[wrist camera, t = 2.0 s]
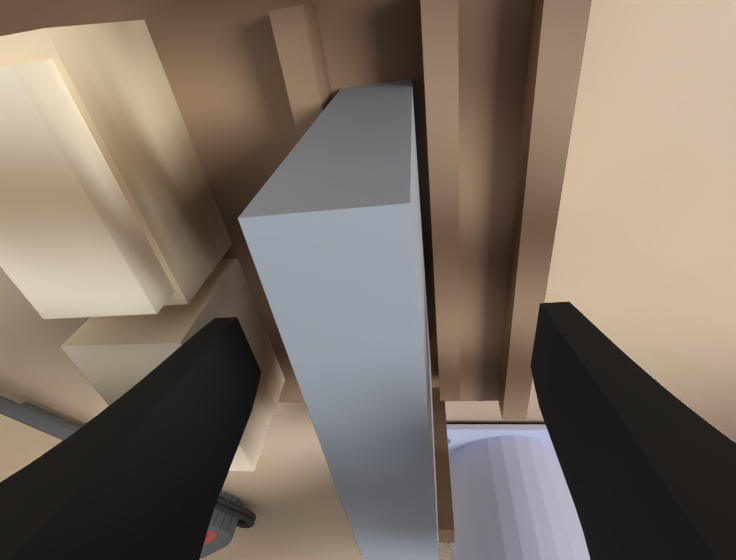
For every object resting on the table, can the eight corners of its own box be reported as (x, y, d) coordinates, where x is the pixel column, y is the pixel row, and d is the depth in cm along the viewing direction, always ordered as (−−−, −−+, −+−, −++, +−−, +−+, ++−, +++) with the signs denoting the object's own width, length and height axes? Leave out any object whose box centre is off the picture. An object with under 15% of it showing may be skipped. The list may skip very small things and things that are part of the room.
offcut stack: (285, 379, 19) (254, 471, 15) (208, 381, 19) (162, 469, 16) (144, 19, 10) (0, 32, 7) (18, 42, 11) (-175, 64, 7)
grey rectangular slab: (429, 341, 16) (439, 563, 10) (382, 342, 17) (362, 559, 10) (412, 78, 11) (409, 203, 4) (341, 88, 11) (238, 218, 5)
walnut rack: (516, 383, 19) (560, 547, 13) (211, 387, 21) (138, 527, 16) (582, -156, 9) (910, -455, 3) (-22, -25, 11) (-476, -49, 5)
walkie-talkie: (277, 493, 29) (-12, 359, 23) (258, 562, 25) (-91, 427, 19) (223, 524, 33) (-31, 420, 27) (200, 587, 30) (-99, 484, 23)
